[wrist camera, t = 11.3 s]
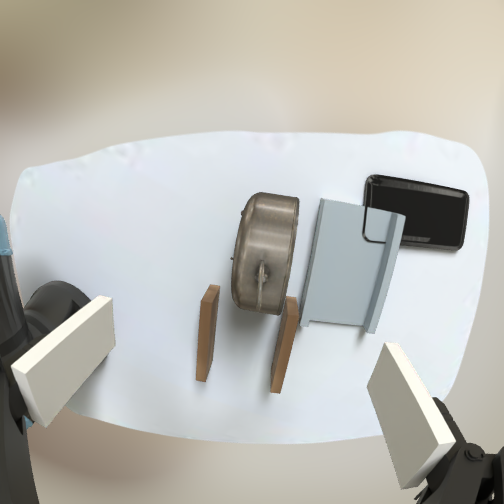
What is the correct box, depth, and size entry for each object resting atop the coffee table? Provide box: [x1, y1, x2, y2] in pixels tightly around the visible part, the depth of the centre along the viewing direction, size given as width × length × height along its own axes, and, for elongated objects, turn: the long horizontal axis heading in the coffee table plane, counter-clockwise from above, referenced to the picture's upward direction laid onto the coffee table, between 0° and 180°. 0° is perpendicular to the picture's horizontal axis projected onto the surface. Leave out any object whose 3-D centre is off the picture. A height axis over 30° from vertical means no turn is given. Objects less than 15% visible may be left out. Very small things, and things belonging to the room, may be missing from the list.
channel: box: [196, 284, 299, 394], centre depth 35 cm, size 10×11×5 cm
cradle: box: [299, 198, 406, 334], centre depth 33 cm, size 10×14×2 cm, turn 172°
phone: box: [362, 175, 469, 250], centre depth 32 cm, size 8×1×15 cm
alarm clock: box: [230, 192, 299, 316], centre depth 26 cm, size 11×5×16 cm, turn 172°
